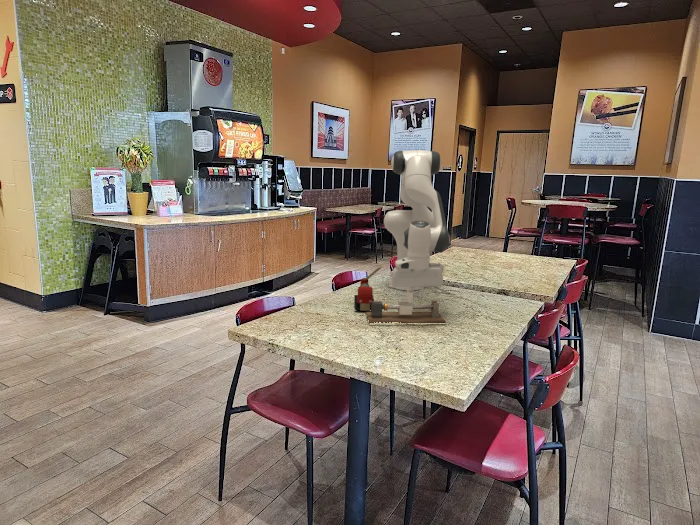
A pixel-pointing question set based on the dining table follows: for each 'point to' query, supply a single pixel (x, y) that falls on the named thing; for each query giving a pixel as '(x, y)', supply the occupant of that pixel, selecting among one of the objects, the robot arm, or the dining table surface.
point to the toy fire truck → (364, 294)
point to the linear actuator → (410, 316)
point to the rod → (378, 306)
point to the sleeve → (406, 304)
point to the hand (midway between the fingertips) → (416, 297)
